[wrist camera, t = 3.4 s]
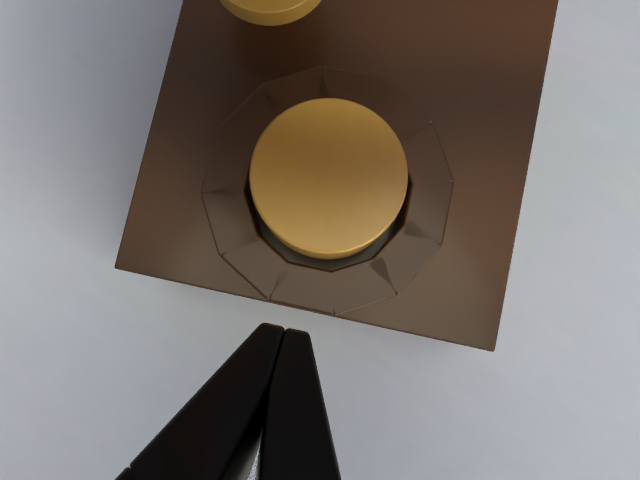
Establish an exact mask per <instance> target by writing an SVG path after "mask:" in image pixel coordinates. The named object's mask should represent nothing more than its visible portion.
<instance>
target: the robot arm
mask: <svg viewBox="0 0 640 480" xmlns="http://www.w3.org/2000/svg"><path fill="white" fill-rule="evenodd" d="M260 441H261V442H260ZM259 444H260V448H259ZM258 448H259V455H258V462H257V470H256V478H255V480H341V476H340V472H339V467H338V463H337V458H336V453H335V449H334V444H333V440H332V435H331V430H330V426H329V421H328V417H327V412H326V408H325V403H324V398H323V394H322V389H321V385H320V380H319V375H318V371H317V366H316V362H315V357H314V353H313V348H312V343H311V339H310V335H309V334H308V333H307V332H305V331H300V330H296V329H291V328H288V329H286V330H284V328H283V327H282V326H278V325H273V324H269V323H262V324H261V325H259V326H258V327H257V328H256V329H255V330H254V332H253V333H252V334H251V335H250V336H249V337H248V338H247V339H246V340H245V341H244V342H243V343H242V344H241V345H240V347H239V348H238V349H237V350H236V351H235V352H234V353H233V354H232V355H231V356H230V357H229V358H228V359H227V360H226V362H225V363H224V364H223V365H222V366H221V367H220V368H219V369H218V370H217V371H216V372H215V373H214V374H213V375H212V376H211V378H210V379H209V380H208V381H207V382H206V383H205V384H204V385H203V386H202V387H201V388H200V389H199V390H198V391H197V393H196V394H195V395H194V396H193V397H192V398H191V399H190V400H189V401H188V402H187V403H186V404H185V405H184V406H183V408H182V409H181V410H180V411H179V412H178V413H177V414H176V415H175V416H174V417H173V418H172V419H171V420H170V421H169V423H168V424H167V425H166V426H165V427H164V428H163V429H162V430H161V431H160V432H159V433H158V434H157V435H156V436H155V438H154V439H153V440H152V441H151V442H150V443H149V444H148V445H147V446H146V447H145V448H144V449H143V450H142V451H141V452H140V454H139V455H138V456H137V457H136V458H135V459H134V460H133V461H132V462H131V463H130V468H129V467H127V468H125V469H124V470H123V471H122V473H121V474H120V475H119V476H118V477H117V478H116V479H115V480H247V479H248V476H249V474H250V471H251V468H252V466H253V463H254V460H255V457H256V454H257V451H258Z"/></svg>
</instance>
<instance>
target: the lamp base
mask: <svg viewBox="0 0 640 480" xmlns="http://www.w3.org/2000/svg"><path fill="white" fill-rule="evenodd" d="M557 5H558V0H321V2H320V3H319V4H318V5H317V6H316V7H315V8H314V9H313V10H312V11H311V12H310V13H308V14H307V15H305V16H304V17H302V18H300V19H298V20H296V21H293V22H291V23H288V24H283V25H277V26H263V25H257V24H253V23H249V22H247V21H245V20H242V19H240V18H239V17H237V16H235V15H234V14H232V13H231V12H230V11H228V10H227V9H226V8H225V7H224V6H223V5H222V3H221V2H220V1H219V0H183V4H182V8H181V12H180V15H179V19H178V23H177V27H176V31H175V35H174V39H173V42H172V46H171V50H170V54H169V58H168V62H167V66H166V70H165V73H164V77H163V81H162V85H161V89H160V93H159V97H158V101H157V104H156V108H155V112H154V116H153V120H152V124H151V128H150V132H149V135H148V139H147V143H146V147H145V151H144V155H143V159H142V162H141V166H140V170H139V174H138V178H137V182H136V186H135V190H134V193H133V197H132V201H131V205H130V209H129V213H128V217H127V221H126V224H125V228H124V232H123V236H122V240H121V244H120V248H119V251H118V255H117V259H116V263H115V268H116V269H119V270H124V271H128V272H133V273H138V274H142V275H147V276H151V277H156V278H160V279H165V280H169V281H174V282H178V283H183V284H188V285H192V286H197V287H201V288H206V289H210V290H215V291H219V292H224V293H228V294H233V295H237V296H242V297H247V298H251V299H256V300H260V301H265V302H269V303H274V304H278V305H283V306H287V307H292V308H296V309H301V310H306V311H310V312H315V313H319V314H324V315H328V316H333V317H337V318H342V319H346V320H351V321H355V322H360V323H365V324H369V325H374V326H378V327H383V328H387V329H392V330H396V331H401V332H405V333H410V334H414V335H419V336H424V337H428V338H433V339H437V340H442V341H446V342H451V343H455V344H460V345H464V346H469V347H473V348H478V349H483V350H487V351H492V352H493V351H494V350H495V345H496V340H497V334H498V329H499V323H500V318H501V312H502V307H503V301H504V296H505V291H506V285H507V280H508V274H509V269H510V263H511V258H512V252H513V247H514V241H515V236H516V230H517V225H518V219H519V214H520V208H521V203H522V197H523V192H524V186H525V181H526V175H527V170H528V164H529V159H530V153H531V148H532V142H533V137H534V131H535V126H536V120H537V115H538V109H539V104H540V98H541V93H542V87H543V82H544V76H545V71H546V65H547V60H548V54H549V49H550V43H551V38H552V32H553V27H554V22H555V16H556V11H557ZM321 98H337V99H344V100H348V101H352V102H355V103H358V104H360V105H362V106H365V107H366V108H368V109H370V110H372V111H373V112H375V113H376V114H377V115H378V116H380V117H381V118H382V119H383V120H384V121H385V122H386V123H387V124H388V125H389V126H390V127H391V129H392V130H393V131H394V133H395V134H396V136H397V138H398V139H399V141H400V143H401V145H402V148H403V150H404V153H405V157H406V161H407V168H408V184H407V191H406V195H405V199H404V202H403V204H402V207H401V209H400V211H399V213H398V215H397V216H396V218H395V220H394V221H393V222H392V223H391V225H390V226H389V227H388V228H387V229H386V231H385V232H384V233H383V234H382V235H381V236H380V237H379V238H378V239H377V240H376V241H375V242H374V243H373V244H371V245H370V246H369V247H367V248H366V249H364V250H362V251H361V252H359V253H357V254H354V255H351V256H349V257H345V258H341V259H332V260H326V259H316V258H311V257H307V256H304V255H301V254H299V253H297V252H295V251H293V250H291V249H290V248H288V247H286V246H285V245H284V244H283V243H281V242H280V241H279V240H278V239H277V238H276V237H275V236H274V235H273V233H272V232H271V230H270V229H269V228H268V226H267V225H266V223H265V222H264V220H263V219H262V218H261V216H260V214H259V212H258V210H257V208H256V206H255V203H254V201H253V198H252V194H251V190H250V181H249V170H250V163H251V157H252V154H253V151H254V148H255V146H256V143H257V141H258V139H259V138H260V136H261V134H262V133H263V131H264V130H265V129H266V127H267V126H268V125H269V124H270V123H271V122H272V121H273V120H274V119H275V118H276V117H277V116H278V115H280V114H281V113H283V112H284V111H285V110H287V109H289V108H291V107H293V106H295V105H297V104H300V103H302V102H305V101H309V100H313V99H321Z"/></svg>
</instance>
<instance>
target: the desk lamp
mask: <svg viewBox="0 0 640 480" xmlns="http://www.w3.org/2000/svg"><path fill="white" fill-rule="evenodd" d="M219 1H220V2H221V3H222V5H223V6H224V7H225V8H226V9H227V10H228V11H230V12H231V13H232V14H234V15H235V16H237V17H239V18H240V19H242V20H245V21H247V22H249V23H253V24H257V25H263V26H277V25H283V24H288V23H291V22H293V21H296V20H298V19H300V18H302V17H304V16H305V15H307V14H308V13H310V12H311V11H312V10H313V9H314V8H315V7H316V6H317V5H318V4H319V3H320V2H321V0H219Z"/></svg>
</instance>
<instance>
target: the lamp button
mask: <svg viewBox="0 0 640 480" xmlns="http://www.w3.org/2000/svg"><path fill="white" fill-rule="evenodd" d="M249 181H250V190H251V194H252V198H253V201H254V203H255V206H256V208H257V210H258V212H259V214H260V216H261V218H262V219H263V220H264V222H265V223H266V225H267V226H268V228H269V229H270V230H271V232H272V233H273V235H274V236H275V237H276V238H277V239H278V240H279V241H280V242H281V243H283V244H284V245H285V246H286V247H288V248H290V249H291V250H293V251H295V252H297V253H299V254H301V255H304V256H307V257H311V258H316V259H326V260H332V259H341V258H345V257H349V256H351V255H354V254H357V253H359V252H361V251H362V250H364V249H366V248H367V247H369V246H370V245H371V244H373V243H374V242H375V241H376V240H377V239H378V238H379V237H380V236H381V235H382V234H383V233H384V232H385V231H386V229H387V228H388V227H389V226H390V225H391V223H392V222H393V221H394V220H395V218H396V216H397V215H398V213H399V211H400V209H401V207H402V204H403V202H404V199H405V195H406V191H407V184H408V168H407V161H406V157H405V153H404V150H403V148H402V145H401V143H400V141H399V139H398V138H397V136H396V134H395V133H394V131H393V130H392V129H391V127H390V126H389V125H388V124H387V123H386V122H385V121H384V120H383V119H382V118H381V117H380V116H378V115H377V114H376V113H375V112H373V111H372V110H370V109H368V108H366V107H365V106H362V105H360V104H358V103H355V102H352V101H348V100H344V99H337V98H321V99H313V100H309V101H305V102H302V103H300V104H297V105H295V106H293V107H291V108H289V109H287V110H285V111H284V112H283V113H281V114H280V115H278V116H277V117H276V118H275V119H274V120H273V121H272V122H271V123H270V124H269V125H268V126H267V127H266V129H265V130H264V131H263V133H262V134H261V136H260V138H259V139H258V141H257V143H256V146H255V148H254V151H253V154H252V157H251V163H250V170H249Z"/></svg>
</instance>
